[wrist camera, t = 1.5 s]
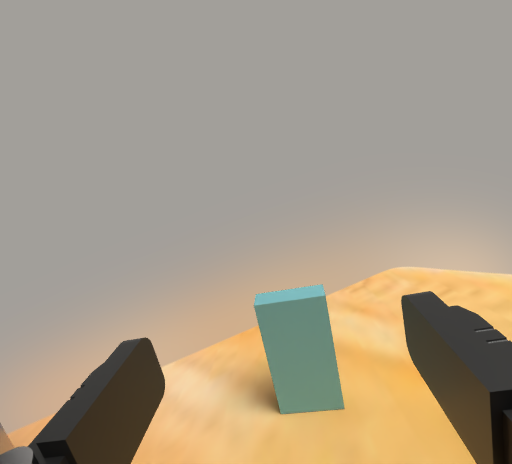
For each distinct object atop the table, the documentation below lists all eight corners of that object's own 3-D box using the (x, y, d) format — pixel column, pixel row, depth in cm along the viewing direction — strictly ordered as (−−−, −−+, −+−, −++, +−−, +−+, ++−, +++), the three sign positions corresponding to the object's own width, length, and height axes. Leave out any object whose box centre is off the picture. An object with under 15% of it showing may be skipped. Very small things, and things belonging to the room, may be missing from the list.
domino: (344, 408, 22) (325, 295, 20) (280, 414, 23) (253, 305, 20) (340, 391, 24) (322, 284, 21) (281, 397, 25) (256, 294, 22)
